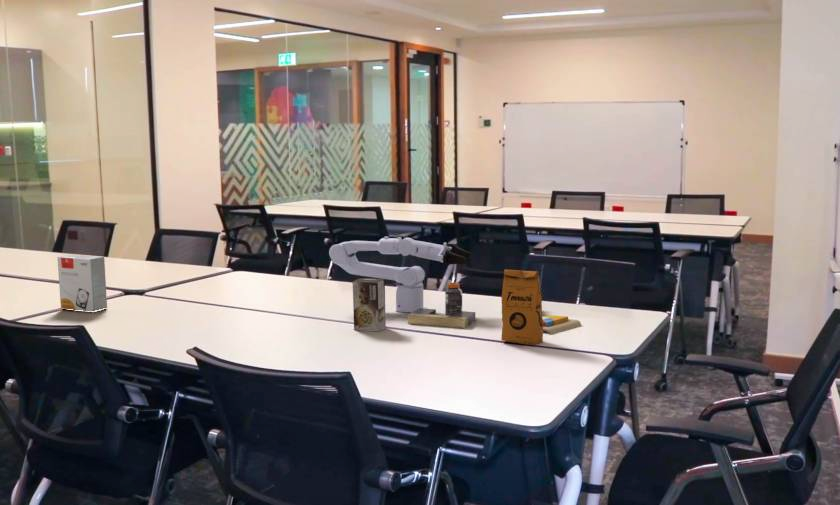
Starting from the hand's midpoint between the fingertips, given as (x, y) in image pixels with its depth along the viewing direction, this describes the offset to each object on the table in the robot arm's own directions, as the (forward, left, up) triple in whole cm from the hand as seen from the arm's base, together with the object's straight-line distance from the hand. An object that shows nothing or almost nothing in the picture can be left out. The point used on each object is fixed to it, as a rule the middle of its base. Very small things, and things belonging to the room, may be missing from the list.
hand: (467, 258), depth 281 cm
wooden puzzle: (+29, -10, -20) cm, 37 cm away
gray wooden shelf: (-4, -16, -20) cm, 26 cm away
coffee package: (+28, -34, -20) cm, 48 cm away
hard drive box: (-135, -40, -20) cm, 142 cm away
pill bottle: (-4, -4, -20) cm, 21 cm away
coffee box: (-23, -33, -20) cm, 45 cm away
